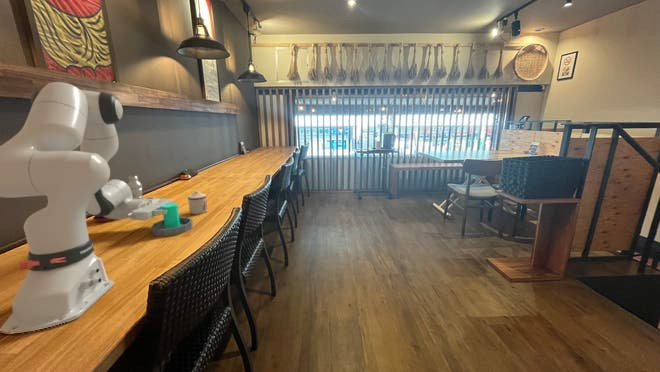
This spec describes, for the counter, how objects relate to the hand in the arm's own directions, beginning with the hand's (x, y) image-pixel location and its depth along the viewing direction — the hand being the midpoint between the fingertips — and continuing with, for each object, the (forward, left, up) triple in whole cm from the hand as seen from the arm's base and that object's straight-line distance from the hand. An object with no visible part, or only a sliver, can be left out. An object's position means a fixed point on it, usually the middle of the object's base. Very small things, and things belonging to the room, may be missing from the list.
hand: (172, 209), depth 115 cm
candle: (0, +1, -9) cm, 9 cm away
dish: (0, +1, -10) cm, 10 cm away
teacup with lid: (+25, -7, -10) cm, 28 cm away
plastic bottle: (+33, +23, -10) cm, 41 cm away
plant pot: (+27, +34, -10) cm, 45 cm away
